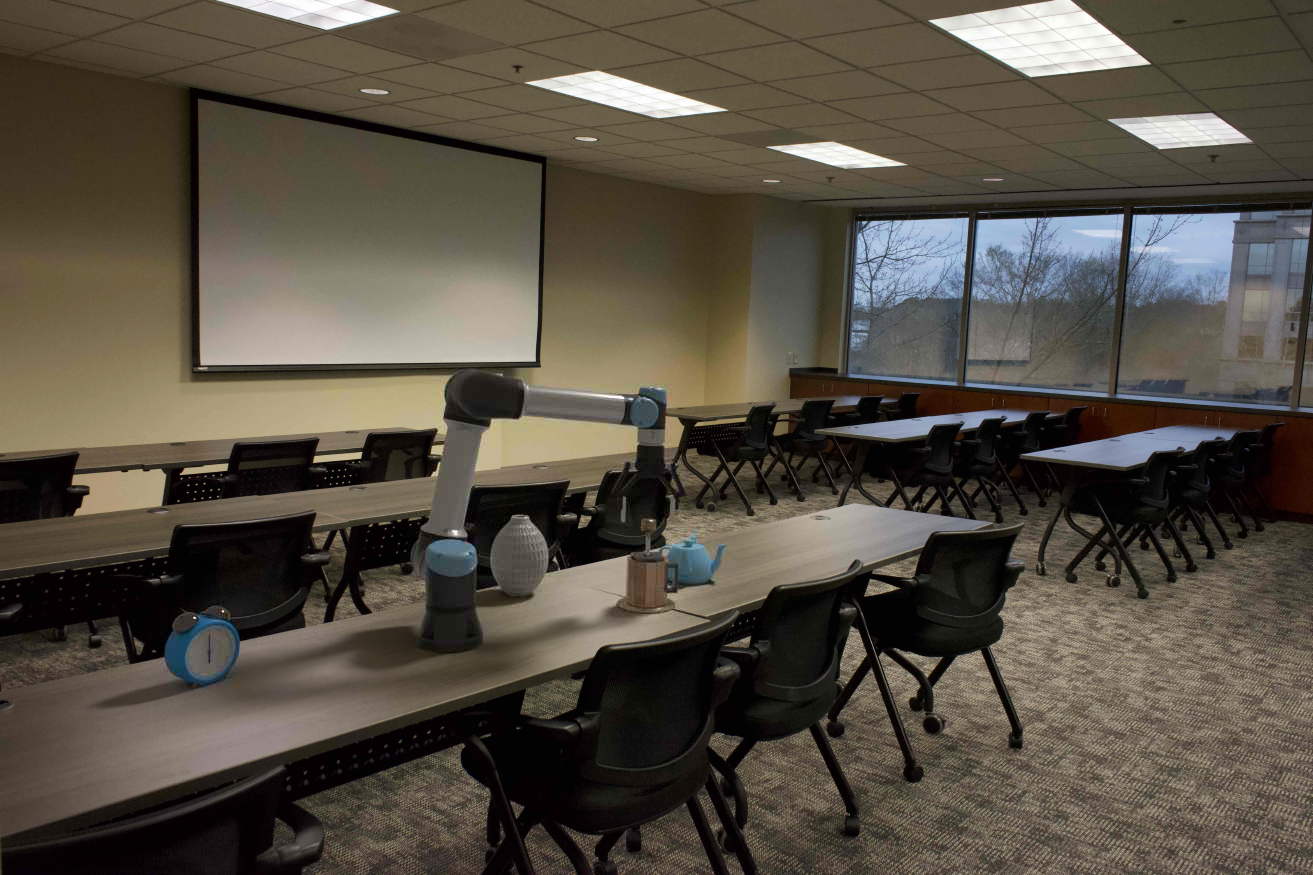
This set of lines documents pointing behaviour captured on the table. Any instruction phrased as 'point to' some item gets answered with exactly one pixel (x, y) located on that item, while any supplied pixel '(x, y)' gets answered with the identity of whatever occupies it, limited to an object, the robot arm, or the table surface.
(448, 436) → the robot arm
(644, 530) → the plunger
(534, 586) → the vase
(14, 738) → the table surface
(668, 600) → the press
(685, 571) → the teapot
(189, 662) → the alarm clock
